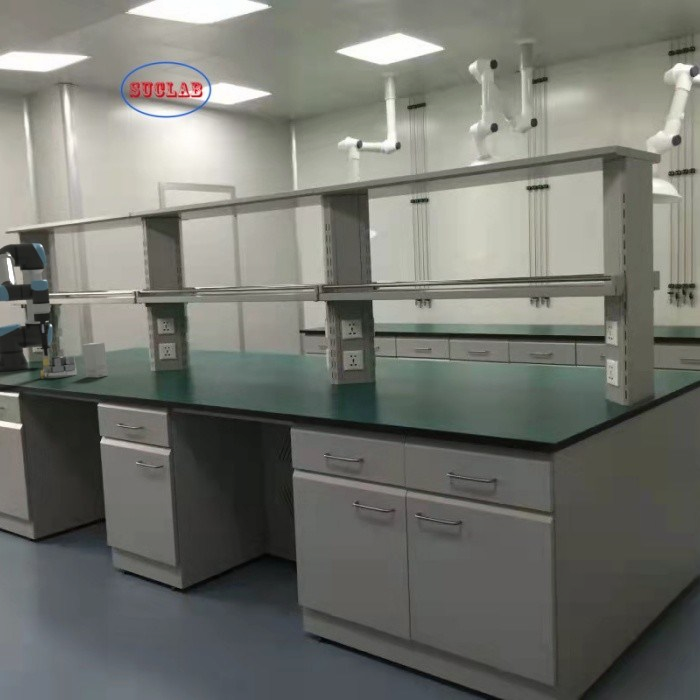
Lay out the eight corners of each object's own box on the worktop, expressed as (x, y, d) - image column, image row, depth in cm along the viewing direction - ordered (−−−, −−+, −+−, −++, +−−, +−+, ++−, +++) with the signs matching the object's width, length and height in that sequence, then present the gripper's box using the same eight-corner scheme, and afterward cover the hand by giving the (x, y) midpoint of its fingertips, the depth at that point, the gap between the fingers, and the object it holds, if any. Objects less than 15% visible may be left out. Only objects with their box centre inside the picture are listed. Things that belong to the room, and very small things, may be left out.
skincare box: (108, 375, 353) (105, 342, 351) (96, 378, 347) (93, 344, 346) (96, 375, 358) (93, 342, 356) (84, 377, 352) (81, 343, 350)
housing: (43, 375, 366) (41, 357, 365) (76, 372, 371) (74, 354, 370) (44, 379, 352) (42, 360, 351) (78, 376, 358) (76, 357, 357)
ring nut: (42, 373, 353) (41, 360, 352) (45, 369, 366) (44, 357, 366) (74, 370, 356) (73, 357, 356) (76, 367, 370) (75, 354, 369)
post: (41, 378, 355) (40, 370, 354) (44, 378, 356) (44, 369, 355) (41, 379, 353) (40, 370, 353) (45, 378, 354) (44, 370, 354)
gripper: (50, 313, 352) (54, 363, 356) (51, 311, 364) (55, 359, 368) (32, 314, 350) (37, 364, 353) (34, 312, 362) (39, 361, 365)
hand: (46, 362), depth 360 cm, fingers closed
